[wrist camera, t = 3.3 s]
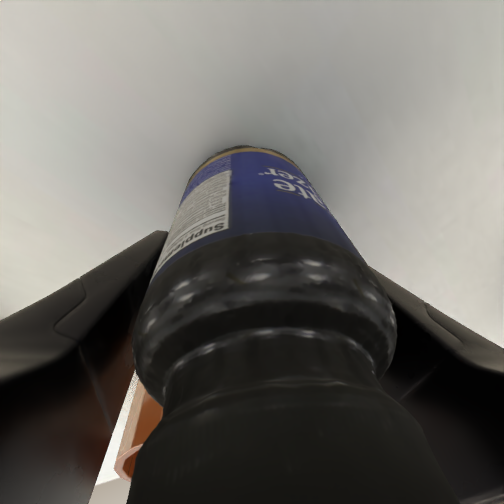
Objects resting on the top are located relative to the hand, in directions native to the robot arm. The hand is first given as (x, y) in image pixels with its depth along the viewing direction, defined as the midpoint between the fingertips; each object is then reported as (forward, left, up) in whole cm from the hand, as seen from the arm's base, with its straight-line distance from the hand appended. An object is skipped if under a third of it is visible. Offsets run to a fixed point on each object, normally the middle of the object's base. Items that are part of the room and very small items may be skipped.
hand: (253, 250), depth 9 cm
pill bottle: (0, 0, -4) cm, 4 cm away
